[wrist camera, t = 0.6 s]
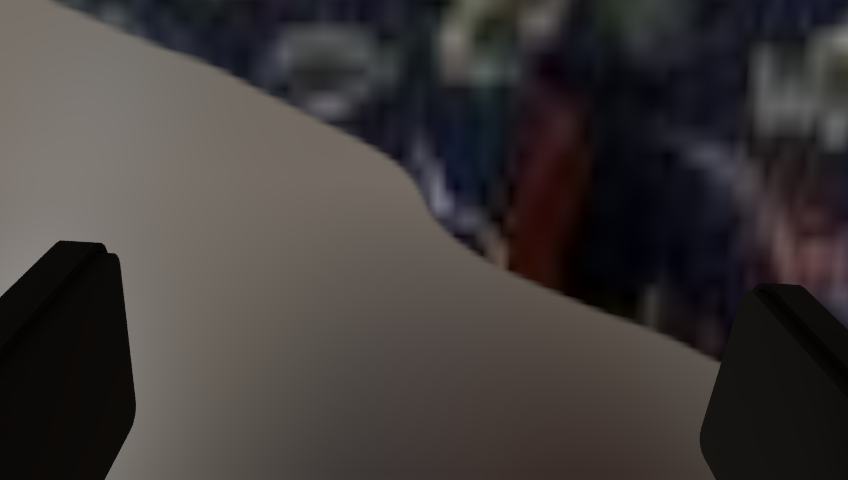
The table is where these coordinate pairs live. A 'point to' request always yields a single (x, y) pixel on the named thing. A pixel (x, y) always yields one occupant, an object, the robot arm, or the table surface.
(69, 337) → the robot arm
